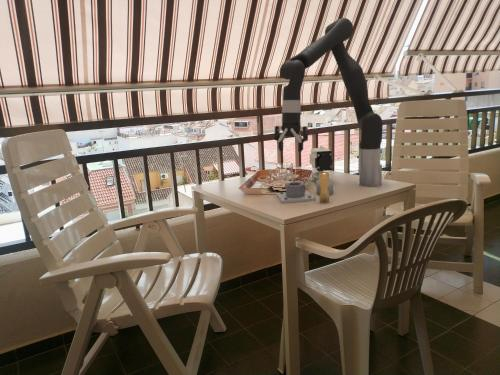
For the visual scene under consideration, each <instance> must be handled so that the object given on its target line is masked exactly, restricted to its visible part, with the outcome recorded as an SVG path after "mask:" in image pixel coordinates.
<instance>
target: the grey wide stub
mask: <svg viewBox="0 0 500 375" xmlns="http://www.w3.org/2000/svg"><path fill="white" fill-rule="evenodd" d="M333 194H334V179H332V178H329V196H333ZM316 195H318V196H320V185H319V179H318V180H317V181H316Z"/></svg>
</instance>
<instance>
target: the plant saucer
mask: <svg viewBox="0 0 500 375" xmlns="http://www.w3.org/2000/svg"><path fill="white" fill-rule="evenodd" d="M295 179H296V180H300V181H303V182H304V185H305V184H306V181H305V180H304V179H301V178H295ZM275 180H276V179H274V180H272V181H269V182H267V183H268V184H267V185H268V186H269V187H270V188H271V187H274V186H270V185H269V184H270V183H271V182H273V181H275ZM274 188H282V189H286V188H285V187H274Z"/></svg>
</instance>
